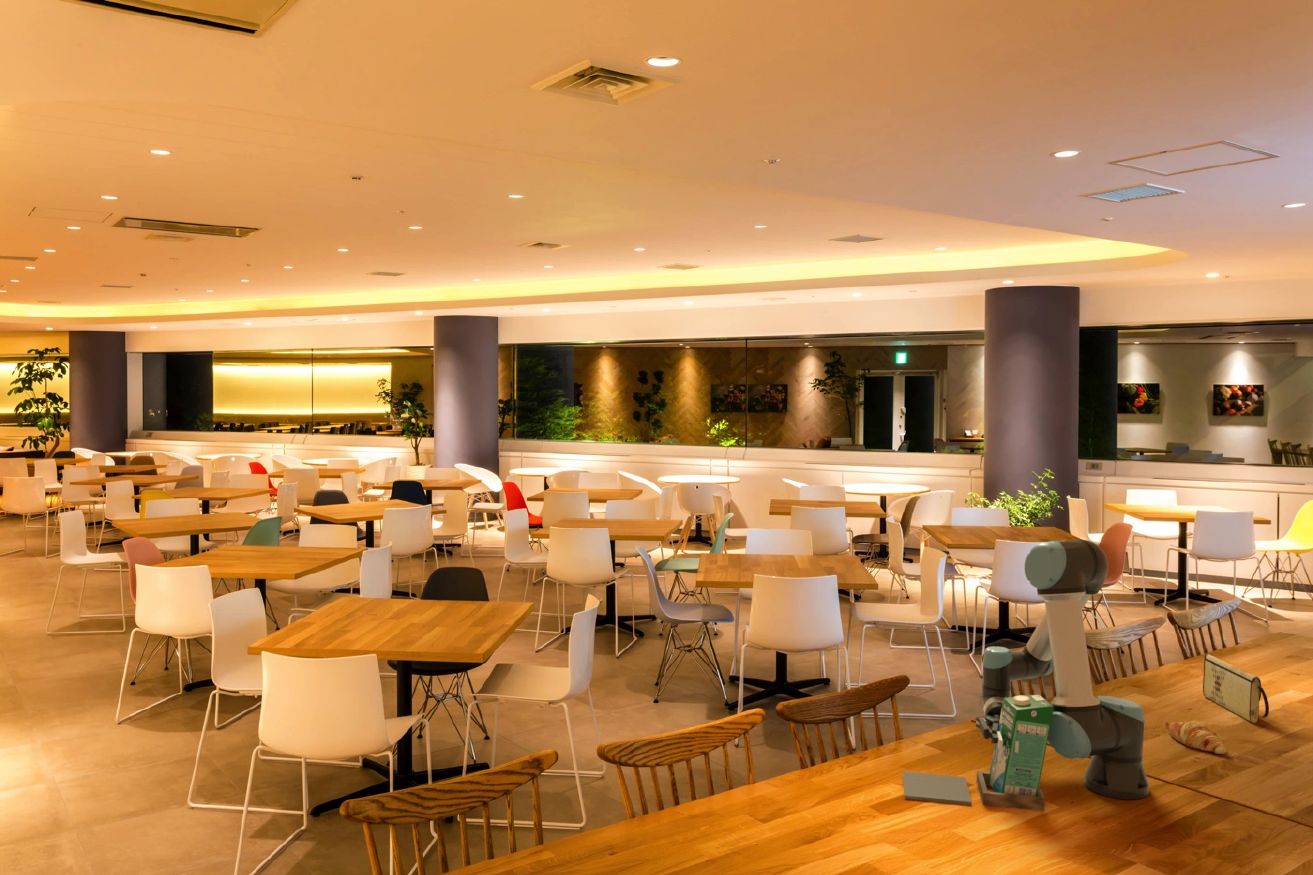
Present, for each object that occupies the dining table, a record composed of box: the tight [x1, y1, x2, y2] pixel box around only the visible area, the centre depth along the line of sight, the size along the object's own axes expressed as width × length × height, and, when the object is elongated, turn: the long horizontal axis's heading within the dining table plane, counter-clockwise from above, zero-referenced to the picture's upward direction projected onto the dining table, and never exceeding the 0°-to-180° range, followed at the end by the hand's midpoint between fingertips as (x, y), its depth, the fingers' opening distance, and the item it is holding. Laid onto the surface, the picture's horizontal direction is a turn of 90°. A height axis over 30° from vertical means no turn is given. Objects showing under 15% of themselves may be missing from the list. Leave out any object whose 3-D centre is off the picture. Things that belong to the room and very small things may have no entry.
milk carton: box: [988, 693, 1054, 796], centre depth 250 cm, size 9×9×25 cm
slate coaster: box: [902, 770, 972, 806], centre depth 254 cm, size 16×16×1 cm
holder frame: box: [976, 770, 1046, 812], centre depth 250 cm, size 14×14×3 cm
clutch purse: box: [1202, 653, 1270, 724], centre depth 320 cm, size 30×7×15 cm, turn 1°
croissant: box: [1165, 718, 1227, 755], centre depth 289 cm, size 21×10×8 cm, turn 18°
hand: (1008, 746), depth 245 cm, fingers open, 3 cm apart
